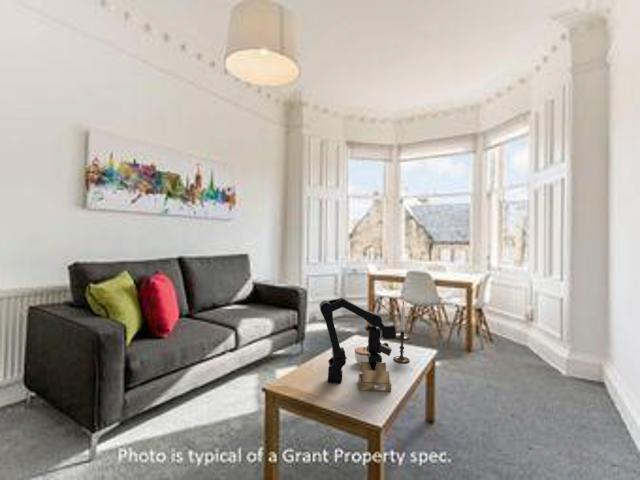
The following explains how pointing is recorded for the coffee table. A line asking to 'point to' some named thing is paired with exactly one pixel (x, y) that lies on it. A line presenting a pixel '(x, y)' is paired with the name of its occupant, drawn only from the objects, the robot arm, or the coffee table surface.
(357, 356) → the lidded jar
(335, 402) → the coffee table surface
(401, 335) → the candlestick
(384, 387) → the carton
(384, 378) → the near flap
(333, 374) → the robot arm
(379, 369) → the far flap
